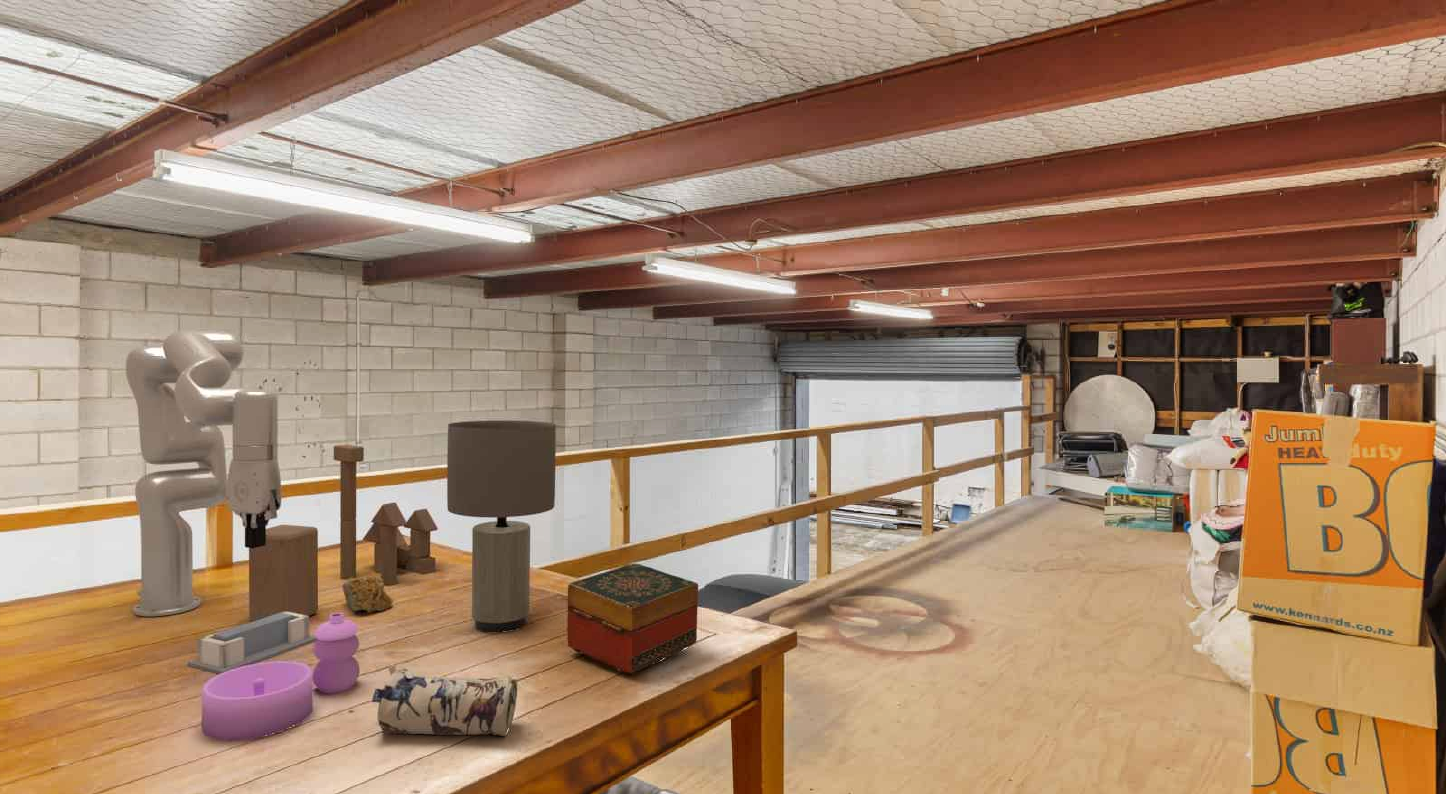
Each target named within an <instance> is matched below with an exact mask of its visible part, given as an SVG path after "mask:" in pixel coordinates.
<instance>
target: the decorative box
mask: <svg viewBox="0 0 1446 794" xmlns="http://www.w3.org/2000/svg"><path fill="white" fill-rule="evenodd" d="M567 587H568V588H567V620H566V621H567V628H566V629H567V631H566V632H567V637H566V642H567V646H568V647H569V648H571V649H572V650H573V651H574V652H576V653H579V652H582V653H581V654H583V653H584V654H583V655H586V656H588V657H589V658H590V659H594V660H595V661H598V662H600V663H603V662H604V664H607V665H609V666H610V667H611V668H613V667H614V668H613V669H615V668H617V669H619V670H620V671H622V672H621V673H624V672H626V673H625V674H635V673H636V671H637V672H639V671H641V670H642V669H643V668H646V666H647V667H650V665H651V666H653V665H654V664H653V663H655V664H657V663H659V662H658V661H660V660H662V659H663V658H665V659H666V658H669V657H671V656H674V655H676V654H678V653H680V652H682V651H681V650H683V649H684V648H686V647H688V648H690V647H691V646H693V645H695V644H696V643H697V639H698V636H697V634H698V633H697V628H698V604H699V584H698V583H697V582H695V581H692V580H688V579H685V578H682V577H681V576H676V575H672V574H670V573H666V572H664V571H662V570H658V569H656V568H653V567H650V566H646V565H643V564H640V563H631V564H627V565H625V566H620V567H618V568H614V569H611V570H608V571H605V572H602V573H601V572H600V573H598V574H595V575H592V576H588V577H585V578H582V579H578V580H575V581H572V582H569V584H568V585H567ZM679 651H680V652H679ZM683 651H684V650H683ZM677 652H678V653H677ZM675 653H676V654H675ZM673 654H674V655H673ZM670 655H671V656H670ZM656 662H657V663H656ZM660 662H661V661H660ZM652 664H653V665H652ZM620 671H619V672H620Z"/></svg>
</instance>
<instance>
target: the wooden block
mask: <svg viewBox="0 0 1446 794" xmlns="http://www.w3.org/2000/svg"><path fill="white" fill-rule="evenodd" d="M318 535H319V530H318V527H315V526H307V525H306V526H305V525H293V524H291V525H290V524H280V525H275V526H272V527H269V528H267V527H266V544H265V546H261V547H257V548H248V619H249V621H250V622H254V621H257V620H260V619H263V618H266V617H269V616H272V615H275V614H278V613H282V612H285V611H287V612H291V613H296V614H301V615H306V616H309V617H310V616H313V615H314V614H316V613H317V612H318V610H319V536H318Z"/></svg>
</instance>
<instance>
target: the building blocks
mask: <svg viewBox="0 0 1446 794" xmlns="http://www.w3.org/2000/svg"><path fill="white" fill-rule="evenodd" d="M364 455H365V453H364V446H359V445H353V444H352V445H351V444H337V445H334V446H333V461H338V462H340V466H339V467H340V469H339V470H340V472H339V473H340V477H339V478H340V479H339V481H340V485H339V487H340V489H339V490H340V494H339V495H340V496H339V497H340V499H339V501H340V502H339V504H340V505H339V506H340V507H339V509H340V513H339V514H340V516H339V518H340V521H339V523H340V524H339V525H340V527H339V528H340V532H339V533H340V535H339V536H340V540H339V542H340V544H339V545H340V551H339V556H340V557H339V558H340V559H339V563H340V565H339V566H340V567H339V568H340V569H339V571H340V573H339V575H340V579H342V580H349V579H350V578H357V463H361V462H363V461H364V459H365V458H364ZM370 522H371V523H373V524H372V525H370V528H369V530H367V532H366V534H365V535H364V536H363V538H362V540H363V541H365V542H370V543H372V544H373V543H374V544H373V545H374V546H373V548H374V550H373V554H374V556H373V557H374V559H373V561H374V562H373V563H374V564H373V565H374V566H373V569H374V571H375V572H376V573H380V579H382V581H383V583H384V586H392V585H395V584H397V581H398V580H397V578H398V577H397V576H398V572H397V571H398V569H397V568H399V567H403V566H405V570H406V571H408V572H414V573H416V574H420V575H425V574H429V573H434V572H435V571H436V557H434V556H431V532H436V531H438V526H437V525H436V523H435V521H434V520H433V517H432V515H431V513H429V510H428V509H427V508H422V509H421V508H420V509H416V510H414V511H413V512H412V514H411V515H410V516H409V518H408V520H406V519H405V516H404V515H403V513H402V511H401V510H400V508H399V506H398V504H397V503H396V502H390V503H383V504H382V505H381V507H380V508H379V509H378V511H377V512H376V513H375V515H374V517H373V518H372V519H371V521H370ZM400 527H403V528H405V529H406V528H407V529H410V531H409V532H410V536H409V537H410V539H409V542H410V543H409V544H408V543H407V541H406V540H405V538H404V535H403V534H402V532H401V531H400Z"/></svg>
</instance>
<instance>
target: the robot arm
mask: <svg viewBox="0 0 1446 794" xmlns="http://www.w3.org/2000/svg"><path fill="white" fill-rule="evenodd" d="M243 359H244V347H243V344H242V342H241V340H240V339H239V337H237V336H236V335H235V334H233V333H232V332H229V331H228V332H227V331H223V330H222V331H219V330H217V331H216V330H198V329H184V330H178V331H174V332H173V333H170V334H169V335H168V336H166V337H165V339H164V341H163V343H162V344H161V345H159V344H158V345H156V344H155V345H142V346H140V347H136V348H134V349H132V350H130V351H129V353H128V355H127V357H126V359H125V375H126V379H127V380H126V381H127V382H128V386H129V388H130V390H131V392H132V394H133V397H134V399H135V402H136V406H137V417H138V429H139V430H138V432H139V445H140V451H141V452H140V453H141V456H142V458H143V460H144V462H146V463H147V464H150V465H154V466H155V465H156V466H157V465H177V464H178V465H179V464H190V463H197V465H198V467H195V468H178V469H168V470H161V471H155V472H150V473H147V474H145V475H143V476H141V478H139V479H138V480H137V482H136V484H135V488H134V495H135V500H136V504H137V509H138V513H139V514H138V515H139V524H140V552H141V554H140V568H141V570H140V572H141V573H140V575H141V578H140V579H141V582H140V583H141V589H139V590H137V591H136V593H135V594H136V596H138V597H140V602H138V603H137V604H135V605H134V606H132V607H133V608H132V613H133V614H134V615H136V616H140V617H163V616H170V615H175V614H180V613H184V612H189V611H191V610H194V609H196V608H198V607H199V606H200V605H201V604H202V598H201V597H199V596H196V595H193V593H194V590H193V588H194V586H193V583H194V582H193V581H194V579H193V578H194V577H193V575H194V574H193V572H194V571H193V564H194V563H193V561H194V560H193V554H194V553H193V530H192V527H191V525H190V523H188V521H186V520H185V519H184V518H183V517H182V516H181V514H180V513H181V512H185V511H192V510H198V509H199V510H200V509H206V508H213V507H217V506H220V505H222V504H223V503H224V502H225V503H226V508H227V509H228V510H229V511H232V512H234V515H236V516H239V517H240V518H241V522H242V527H244V547H245V548H248V549H249V548H257V547H261V546H265V544H266V529H267V526H268V525H269V522H270V520H274V519H277V518H278V512H277V511H279V510H280V509H281V506H282V481H281V473H280V472H281V471H280V466H279V461H278V459H279V458H278V457H279V456H278V454H279V453H278V450H279V449H278V447H279V445H278V441H279V439H278V438H279V435H278V434H279V433H278V432H279V431H278V430H279V429H278V426H279V425H278V423H279V422H278V417H279V415H278V414H279V413H278V412H279V411H278V410H279V408H278V406H279V405H278V404H279V402H278V396H277V393H275V392H274V391H273V390H272V391H271V390H265V389H264V390H263V389H260V388H258V387H251V386H249V387H248V386H247V387H245V386H244V387H233V386H232V387H227V386H226V387H224V386H225V385H226V384H227V383H228V382H229V381H230V379H231V376H232V372H234V371H235V370H236V369H237V368H238V367H239V366H240V365H241V364H242V362H243ZM168 384H175V387H174V389H173V388H172V387H171V386H169V385H168ZM186 419H187V420H188V421H187V420H186ZM219 426H232V459H231V461H230V464H229V467H228V473H227V463H226V462H227V461H226V460H227V457H226V448H225V447H226V446H225V439H224V435H223V432H222V431H221V429H220V427H219ZM225 500H226V501H225Z"/></svg>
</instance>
